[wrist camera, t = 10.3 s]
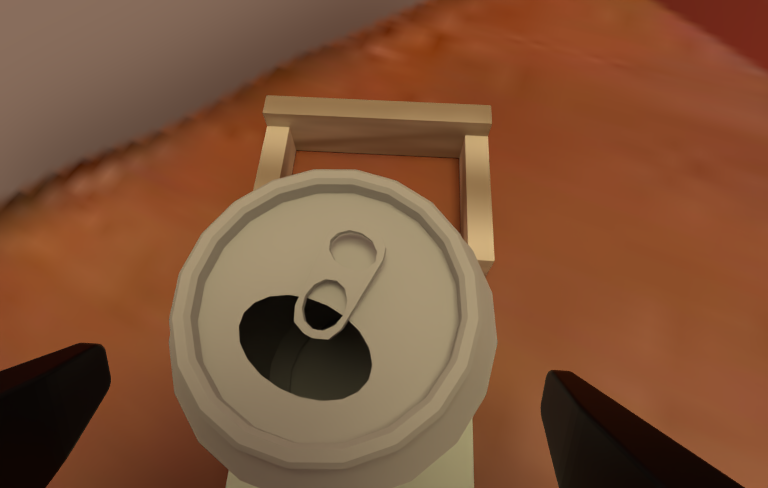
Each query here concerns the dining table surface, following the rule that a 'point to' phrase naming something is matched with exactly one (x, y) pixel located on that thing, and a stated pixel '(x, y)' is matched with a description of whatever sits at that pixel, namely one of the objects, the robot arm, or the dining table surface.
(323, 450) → the can
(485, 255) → the shelf lane
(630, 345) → the dining table surface
